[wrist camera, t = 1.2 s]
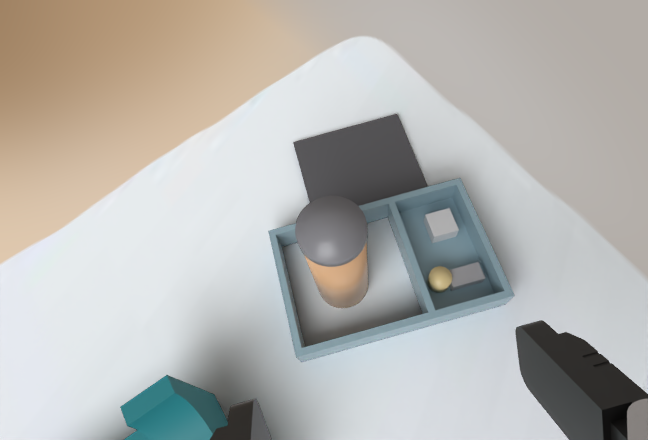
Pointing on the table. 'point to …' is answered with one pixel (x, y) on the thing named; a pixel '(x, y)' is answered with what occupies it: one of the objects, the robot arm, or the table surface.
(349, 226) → the brown canister
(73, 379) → the table surface
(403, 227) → the parts tub
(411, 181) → the black mat
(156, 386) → the teal notched block
